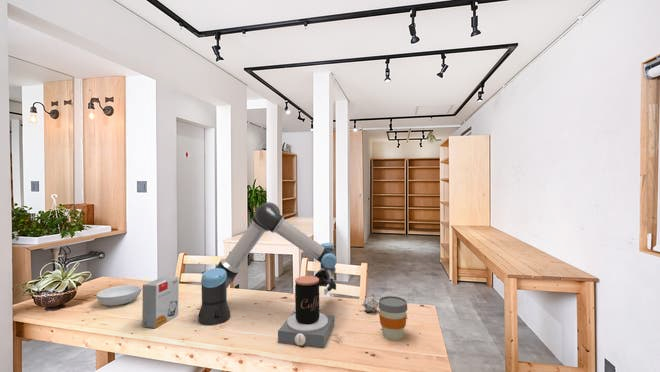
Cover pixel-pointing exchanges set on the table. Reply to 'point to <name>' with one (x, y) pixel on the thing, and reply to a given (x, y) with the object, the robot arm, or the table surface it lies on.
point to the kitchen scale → (306, 331)
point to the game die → (370, 303)
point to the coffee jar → (307, 299)
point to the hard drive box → (160, 301)
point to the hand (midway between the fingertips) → (310, 290)
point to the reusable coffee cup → (392, 316)
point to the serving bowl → (118, 294)
